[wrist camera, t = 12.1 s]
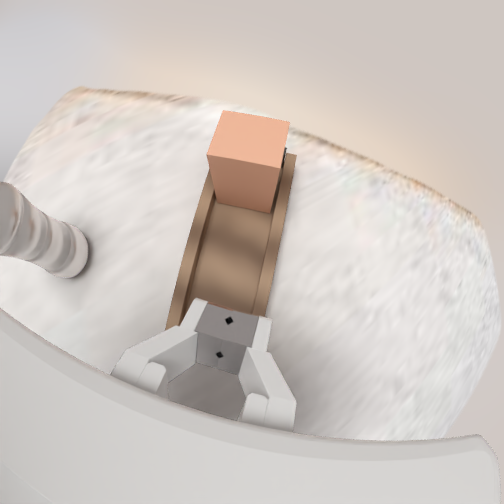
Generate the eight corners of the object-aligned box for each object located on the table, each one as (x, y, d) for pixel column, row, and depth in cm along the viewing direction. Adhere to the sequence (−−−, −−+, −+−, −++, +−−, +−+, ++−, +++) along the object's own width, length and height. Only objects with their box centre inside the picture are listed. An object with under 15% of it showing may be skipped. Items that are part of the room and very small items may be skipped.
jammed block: (269, 213, 31) (280, 168, 21) (217, 202, 31) (206, 154, 22) (278, 175, 32) (289, 122, 23) (228, 165, 32) (223, 110, 23)
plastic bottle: (66, 290, 30) (-59, 255, 10) (51, 247, 31) (-58, 191, 11) (102, 263, 31) (-21, 203, 11) (84, 220, 32) (-19, 141, 12)
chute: (251, 367, 28) (252, 374, 25) (168, 346, 29) (157, 350, 25) (292, 167, 34) (298, 150, 30) (220, 153, 34) (218, 135, 30)
